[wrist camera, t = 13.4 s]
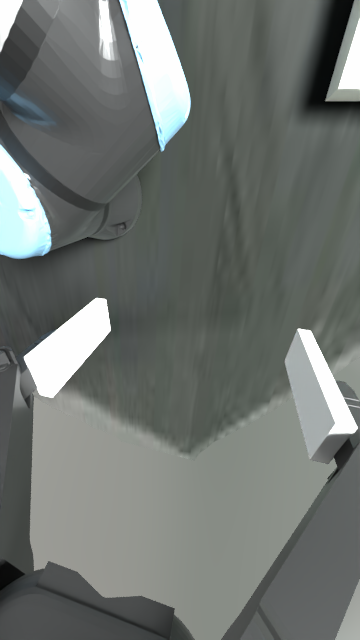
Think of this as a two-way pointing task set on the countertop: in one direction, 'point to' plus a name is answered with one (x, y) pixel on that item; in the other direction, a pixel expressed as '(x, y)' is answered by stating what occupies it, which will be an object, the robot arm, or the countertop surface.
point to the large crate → (348, 62)
